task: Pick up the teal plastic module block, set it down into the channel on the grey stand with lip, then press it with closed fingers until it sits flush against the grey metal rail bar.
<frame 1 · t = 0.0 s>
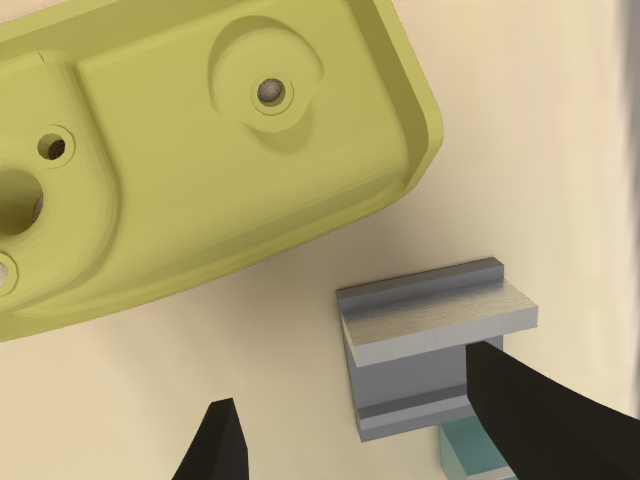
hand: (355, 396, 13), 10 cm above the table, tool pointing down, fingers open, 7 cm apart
plastic component: (177, 140, 20), on the table
grey stand with lip: (421, 348, 25), on the table
module: (464, 438, 29), on the table
rail: (417, 296, 24), resting on grey stand with lip
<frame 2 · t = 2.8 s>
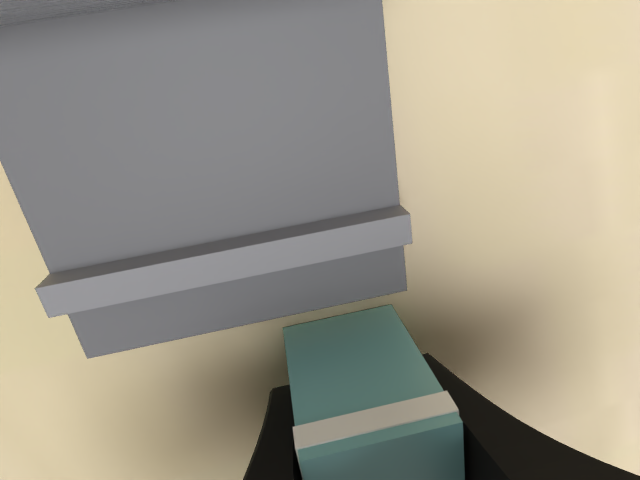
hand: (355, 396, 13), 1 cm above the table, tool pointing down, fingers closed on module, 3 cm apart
grey stand with lip: (210, 138, 11), on the table
module: (345, 367, 14), on the table, touching gripper
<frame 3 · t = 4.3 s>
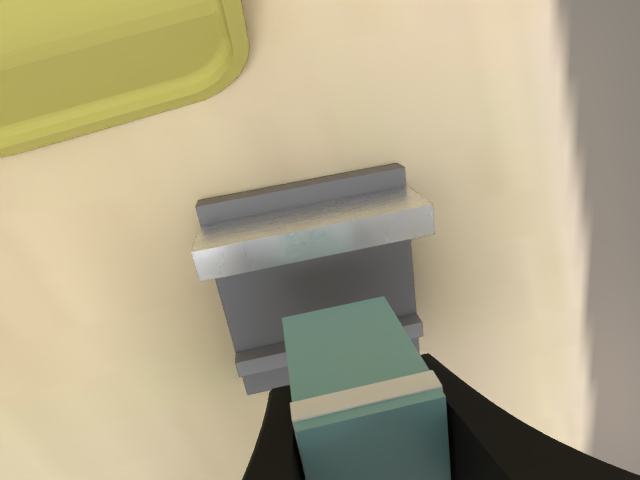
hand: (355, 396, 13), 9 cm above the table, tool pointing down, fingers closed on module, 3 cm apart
grey stand with lip: (317, 280, 21), on the table
module: (341, 356, 15), point 6 cm above the table, touching gripper
rail: (304, 211, 20), resting on grey stand with lip
when the fingers open (4 cm above the table, at t = 5.8 s): module stays where it is, resting on grey stand with lip.
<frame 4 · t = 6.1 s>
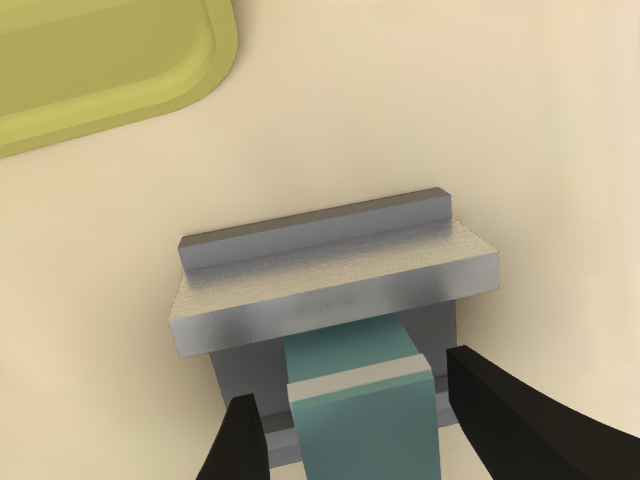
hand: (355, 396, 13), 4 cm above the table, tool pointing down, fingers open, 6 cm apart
grey stand with lip: (333, 332, 17), on the table
module: (337, 342, 16), point 1 cm above the table, touching grey stand with lip
rail: (319, 248, 15), resting on grey stand with lip
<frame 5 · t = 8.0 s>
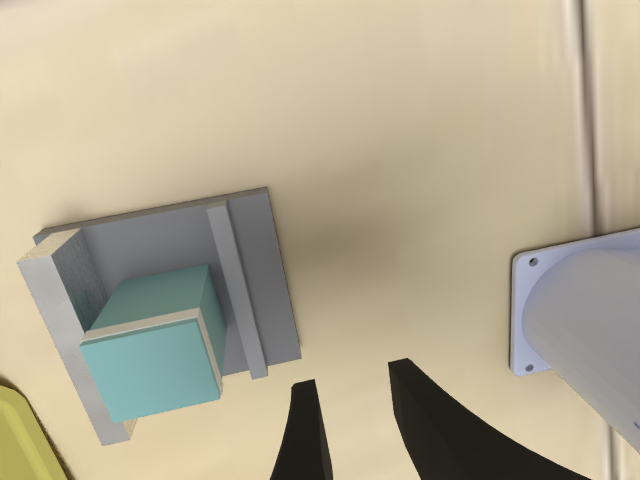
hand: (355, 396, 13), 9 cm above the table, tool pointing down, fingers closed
grey stand with lip: (184, 293, 21), on the table
module: (175, 305, 20), point 1 cm above the table, touching grey stand with lip
rail: (109, 309, 21), resting on grey stand with lip
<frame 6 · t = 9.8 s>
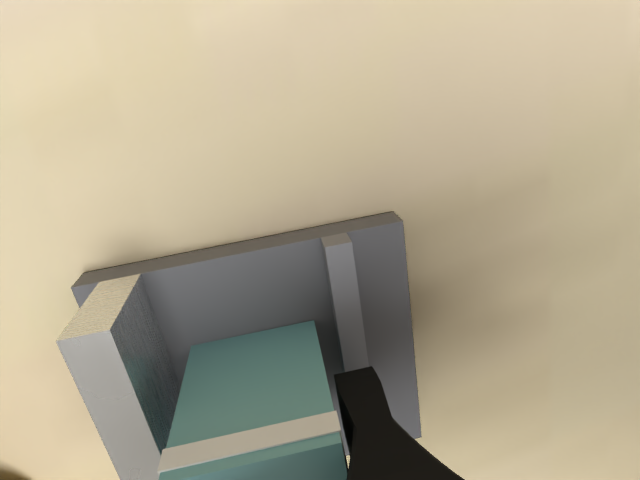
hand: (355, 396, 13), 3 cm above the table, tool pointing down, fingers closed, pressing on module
grey stand with lip: (270, 355, 15), on the table
module: (264, 375, 15), point 1 cm above the table, touching gripper, grey stand with lip
rail: (169, 377, 15), resting on grey stand with lip
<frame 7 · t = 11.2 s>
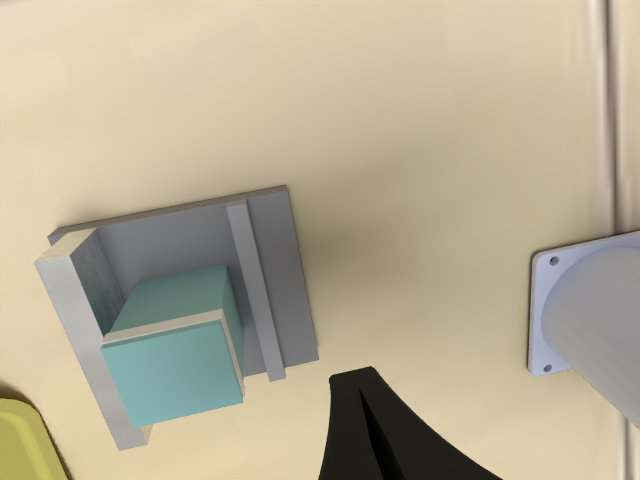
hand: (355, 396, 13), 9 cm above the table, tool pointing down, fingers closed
grey stand with lip: (200, 294, 21), on the table
module: (192, 306, 20), point 1 cm above the table, touching grey stand with lip
rail: (124, 310, 20), resting on grey stand with lip
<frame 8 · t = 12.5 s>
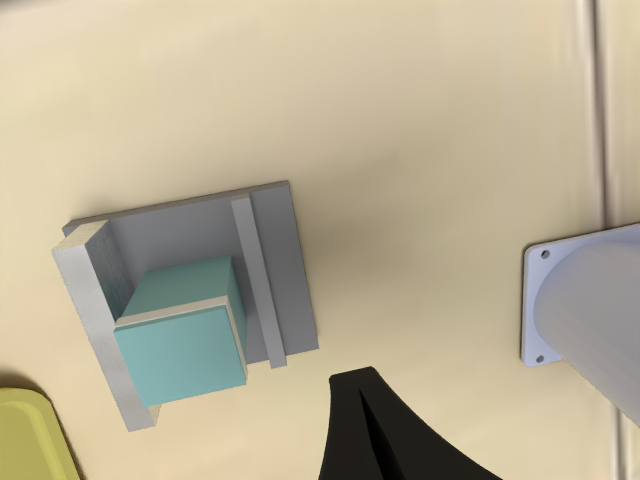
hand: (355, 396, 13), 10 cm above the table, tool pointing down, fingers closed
grey stand with lip: (205, 285, 22), on the table
module: (198, 295, 21), point 1 cm above the table, touching grey stand with lip
rail: (133, 299, 21), resting on grey stand with lip
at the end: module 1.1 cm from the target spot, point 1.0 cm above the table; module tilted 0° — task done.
